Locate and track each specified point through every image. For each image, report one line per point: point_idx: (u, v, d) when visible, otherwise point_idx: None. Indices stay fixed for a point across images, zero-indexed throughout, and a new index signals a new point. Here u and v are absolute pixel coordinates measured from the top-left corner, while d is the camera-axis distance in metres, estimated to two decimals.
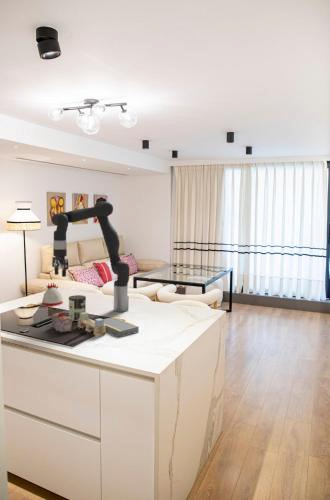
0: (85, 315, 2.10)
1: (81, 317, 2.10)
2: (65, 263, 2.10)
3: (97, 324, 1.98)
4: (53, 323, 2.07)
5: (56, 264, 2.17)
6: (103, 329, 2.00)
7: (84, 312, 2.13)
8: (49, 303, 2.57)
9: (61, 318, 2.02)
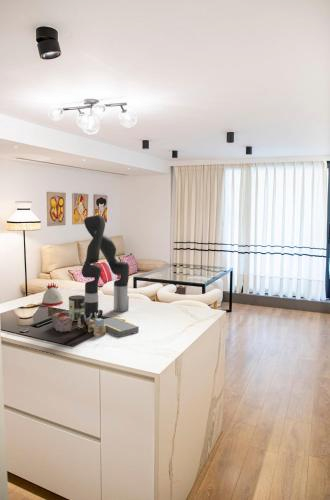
0: (85, 315, 2.10)
1: None
2: None
3: (97, 324, 1.98)
4: (53, 323, 2.08)
5: (88, 319, 2.04)
6: (103, 328, 2.00)
7: None
8: (49, 303, 2.57)
9: (61, 318, 2.03)
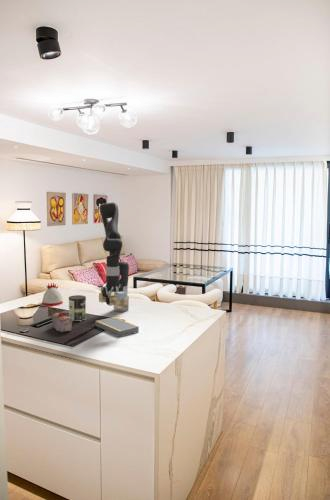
0: (106, 289, 2.13)
1: None
2: None
3: (119, 297, 2.01)
4: (53, 323, 2.08)
5: None
6: (125, 301, 2.02)
7: None
8: (49, 303, 2.57)
9: (61, 318, 2.03)
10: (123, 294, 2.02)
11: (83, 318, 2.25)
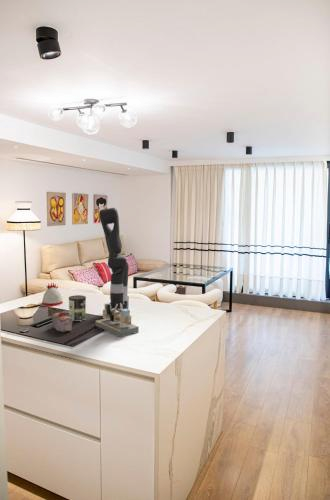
0: None
1: None
2: None
3: (123, 314, 2.03)
4: (53, 323, 2.08)
5: None
6: (129, 319, 2.04)
7: None
8: (49, 303, 2.57)
9: (61, 318, 2.03)
10: (127, 311, 2.03)
11: (83, 318, 2.25)
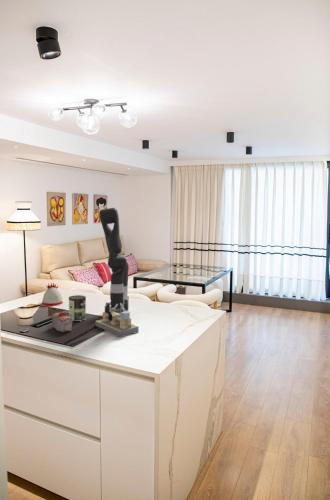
0: None
1: None
2: None
3: (123, 317, 2.03)
4: (53, 323, 2.08)
5: (113, 309, 2.07)
6: (129, 321, 2.04)
7: None
8: (49, 303, 2.57)
9: (62, 318, 2.03)
10: (127, 314, 2.04)
11: (83, 318, 2.25)
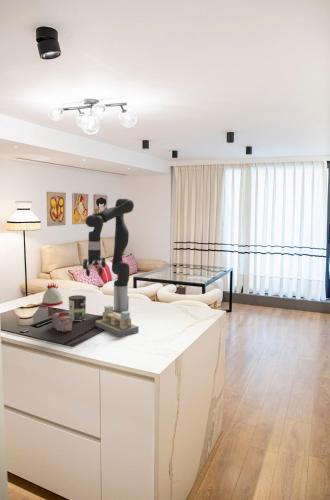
0: (110, 308, 2.15)
1: (106, 310, 2.15)
2: None
3: (123, 317, 2.03)
4: (53, 323, 2.08)
5: None
6: (129, 321, 2.04)
7: (109, 305, 2.17)
8: (49, 303, 2.57)
9: (62, 318, 2.03)
10: (127, 314, 2.04)
11: (83, 318, 2.25)
